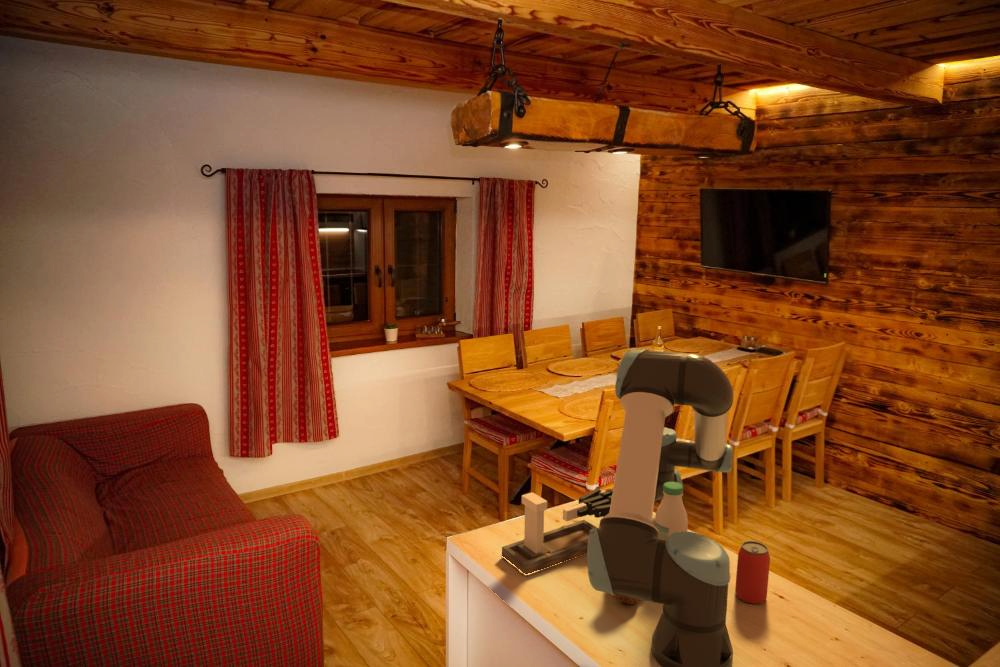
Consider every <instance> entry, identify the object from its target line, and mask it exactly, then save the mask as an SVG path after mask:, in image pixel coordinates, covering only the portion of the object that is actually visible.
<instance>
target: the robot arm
mask: <svg viewBox="0 0 1000 667" xmlns="http://www.w3.org/2000/svg"><path fill="white" fill-rule="evenodd" d="M614 391H615V392H614V393H615V396H616V398H617V399H619V400H620V402H619V404H620V407H622V409H623V410H624V411H625V413H624V419H623V425H622V426H623V427H622V432H621V437H620V438H621V439H620V445H619V450H618V456H617V464H616V469H615V473H614V474H615V476H614V482H613V488H607V489H606V490H603V489H601V487H600V486H596V487H595V488H594V489H593V490H591V491H589V492H588V493H585V494H583V495H581V496H580V497H578V503H577V504H576V503H575V504H573V505H571V506H568V507H565V508H562V520H563V521H565V522H568V521H572V520H575V519H579V518H582V517H585V516H594V518H595V519H596V518H600V519H599V520H600V522H599V525H598V527H597V528H599V529H597V528H594V529H591V530H590V533H589V537H588V550H587V554H586V556H587V559H586V560H587V575H588V580H589V583H590V585H591V587H592V588H593V589H594V590H596V591H598V592H602V593H605V594H609V595H612V596H613V597H615V595H619V596H624V597H630V598H635V599H638V600H641V601H645V602H649V603H657V604H661V605H662V613H661V615H660V618H659V620H658V621H657V624H656V626H655V629H654V631H653V632H652V636H651V647H650V648H651V653H652V656H653V659H654V660H655V661H656V663H658V665H659V666H661V667H732V666H733V662H734V661H733V658H734V650H733V646H732V642H731V639H730V635H729V630H728V627H727V623H726V621H727V610H728V609H727V608H728V596H729V595H728V593H729V592H728V591H729V584H730V581H731V572H730V566H731V565H730V562H731V561H730V557H729V554H728V553H727V551H726V550H725V548H724V547H723V546H722V545H720V544H719V543H718V542H717V541H716V540H713V539H712V538H710V537H708V536H705V535H703V534H700V533H696V532H691V531H687V532H685V531H682V532H681V533H679V532H675V533H672V534H671V535H669V537H668V538H667V540H660V539H657V538H658V529H657V528H656V527H655V523H653V515H654V514H653V513H654V508H655V502H656V501H659V500H663V497H664V494H663V485H664V483H666V482H677V483H680V484H681V485H682V486H683V480H682V475H681V474H680V472H679V471H678V469H676V467H680V468H687V469H688V468H689V469H694V470H701V471H702V470H703V471H708V472H714V473H719V472H720V473H730V472H731V470H732V466H733V464H732V463H733V453H734V446H733V445H731V444H730V443H726V442H727V441H726V440H727V426H728V414H729V413H728V412H729V411H730V410H731V409H732V407H733V404H734V403H733V402H734V389H733V385H732V383H731V381H730V378H729V376H727V375H726V373H725V371H724V370H723V369H722V368H721V367H720V366H718V365H717V364H716V363H715V362H714V361H712V360H711V359H709V358H707V357H705V356H703V355H700V354H697V353H689V352H688V353H686V352H675V351H661V350H660V351H658V350H649V349H646V348H644V349H630V350H628V351H627V352H626V353H625V354H624V355H623V356H622V358H621V361H620V363H619V365H618V369H617V373H616V380H615V387H614ZM675 405H679V406H689V407H691V408H692V410H693V413H694V414H693V416H694V418H693V419H694V420H693V421H694V439H688V438H687V439H686V438H679V437H678V436H677V435H678V434H677V432H676V431H675V429H672V428H668V427H666V426H665V422H666V418H667V417H668V416H670V415H672V414H673V412H674V406H675Z"/></svg>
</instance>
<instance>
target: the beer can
mask: <svg viewBox="0 0 1000 667" xmlns="http://www.w3.org/2000/svg"><path fill="white" fill-rule="evenodd" d="M770 564H771V556H770V553H769V548H768V546H767V545H766V544H764V543H762V542H758V541H755V540H754V541H753V540H747V541H743V543H742V542H741V546H740V548H739V551H738V553H737V565H736V566H737V567H736V574H735V575H736V576H735V577H736V580H735V588H734V589H735V590H734V591H735V592H734V593H735V595H736V597H738V599H740V600H741V601H743V602H745V603H748V604H751V605H753V604H755V605H758V604H762V603H764V602H765V601H766V600H767V597H768V589H769V588H768V586H769V576H770V575H769V574H770V566H771V565H770Z"/></svg>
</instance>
